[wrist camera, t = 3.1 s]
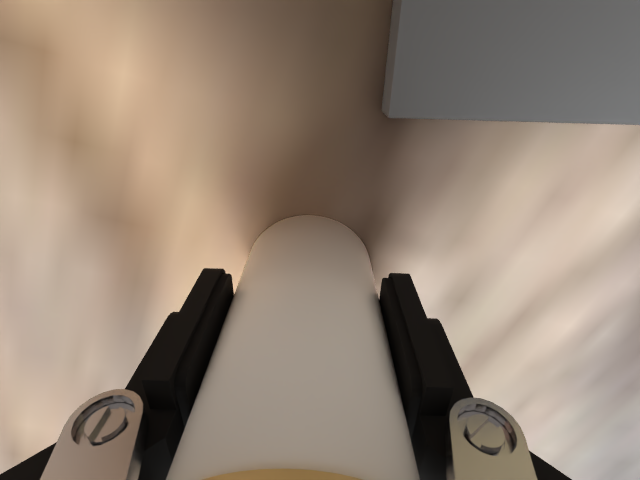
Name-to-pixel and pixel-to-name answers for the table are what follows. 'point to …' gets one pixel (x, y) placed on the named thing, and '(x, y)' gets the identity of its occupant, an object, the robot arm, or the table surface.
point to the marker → (300, 369)
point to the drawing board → (514, 61)
